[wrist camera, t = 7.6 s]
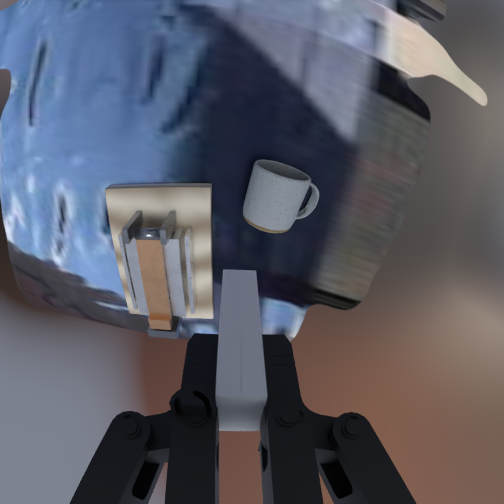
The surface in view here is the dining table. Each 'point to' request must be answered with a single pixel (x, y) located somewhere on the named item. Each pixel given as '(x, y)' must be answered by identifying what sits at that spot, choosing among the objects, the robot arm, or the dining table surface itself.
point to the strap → (154, 277)
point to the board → (187, 215)
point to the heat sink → (173, 265)
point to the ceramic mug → (277, 196)
